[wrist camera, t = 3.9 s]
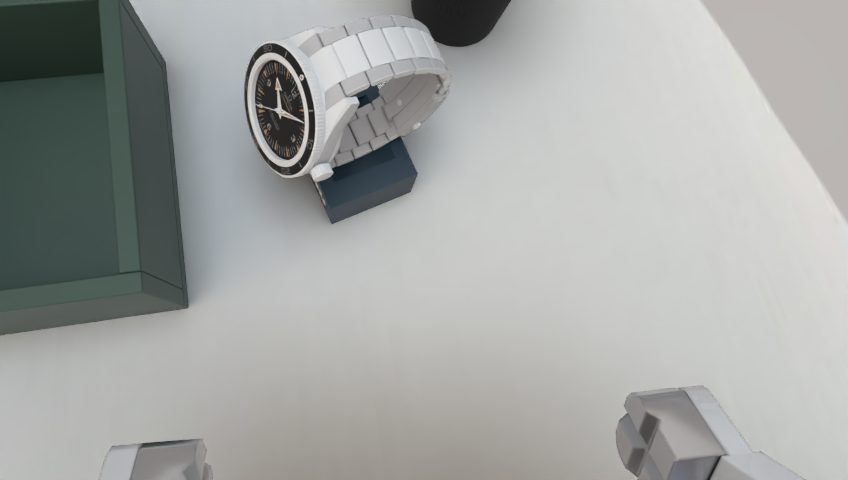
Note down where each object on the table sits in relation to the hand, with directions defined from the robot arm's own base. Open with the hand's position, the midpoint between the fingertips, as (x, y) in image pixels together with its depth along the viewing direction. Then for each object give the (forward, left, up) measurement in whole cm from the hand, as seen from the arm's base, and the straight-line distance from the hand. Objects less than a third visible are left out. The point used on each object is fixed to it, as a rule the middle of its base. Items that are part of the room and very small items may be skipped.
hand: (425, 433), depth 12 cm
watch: (+11, 0, -18) cm, 21 cm away
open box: (+11, +14, -18) cm, 25 cm away
